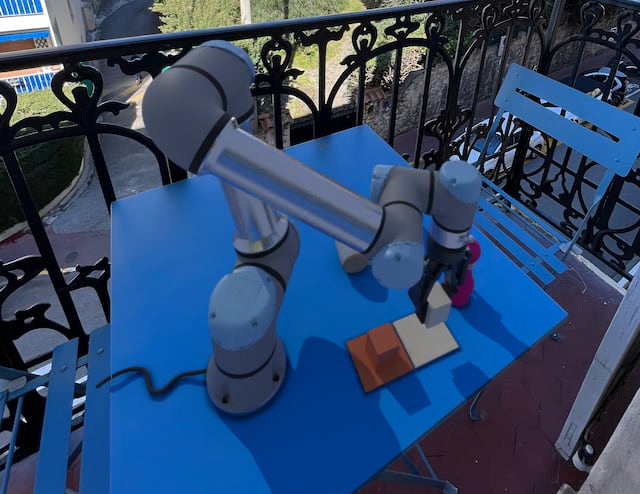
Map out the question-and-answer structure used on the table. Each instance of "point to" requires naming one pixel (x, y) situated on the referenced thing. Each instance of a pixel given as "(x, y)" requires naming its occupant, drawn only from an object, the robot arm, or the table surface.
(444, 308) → the cream block
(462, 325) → the table surface
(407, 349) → the cream mat
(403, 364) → the terracotta mat
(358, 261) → the ceramic mug
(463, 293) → the pepper mill
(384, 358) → the terracotta block
